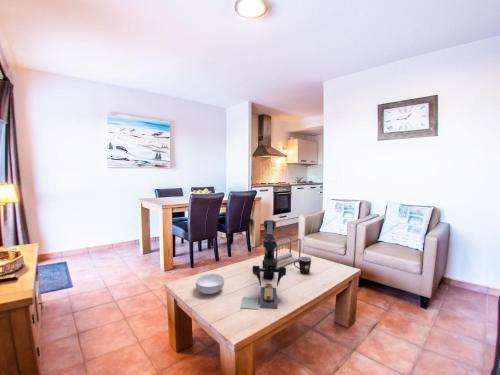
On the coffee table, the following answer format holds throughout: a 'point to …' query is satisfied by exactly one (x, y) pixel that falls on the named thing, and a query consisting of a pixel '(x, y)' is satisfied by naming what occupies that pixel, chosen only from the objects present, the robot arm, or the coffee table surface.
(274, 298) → the plane body
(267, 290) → the lever cap
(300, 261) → the coffee mug
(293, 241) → the newton's cradle
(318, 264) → the coffee table surface
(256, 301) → the bench mat
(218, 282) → the cereal bowl
